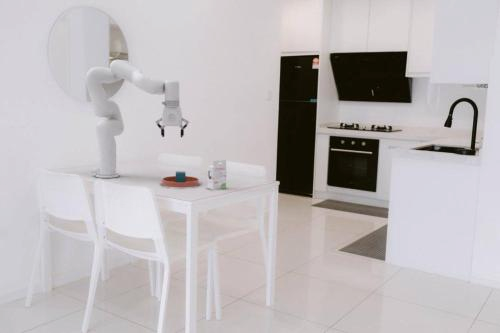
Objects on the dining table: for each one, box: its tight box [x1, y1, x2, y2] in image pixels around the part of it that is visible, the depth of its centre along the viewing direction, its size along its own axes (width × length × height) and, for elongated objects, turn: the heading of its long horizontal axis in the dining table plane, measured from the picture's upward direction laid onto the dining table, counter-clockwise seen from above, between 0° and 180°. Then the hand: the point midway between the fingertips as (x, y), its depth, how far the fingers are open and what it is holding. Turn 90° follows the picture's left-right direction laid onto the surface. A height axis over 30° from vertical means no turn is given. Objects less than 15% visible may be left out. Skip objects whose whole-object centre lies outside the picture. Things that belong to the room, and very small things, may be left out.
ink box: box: [206, 159, 227, 190], centre depth 238 cm, size 9×5×15 cm, turn 131°
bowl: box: [161, 175, 200, 188], centre depth 246 cm, size 19×19×3 cm
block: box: [175, 171, 187, 182], centre depth 245 cm, size 5×5×6 cm
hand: (172, 137), depth 248 cm, fingers open, 9 cm apart
